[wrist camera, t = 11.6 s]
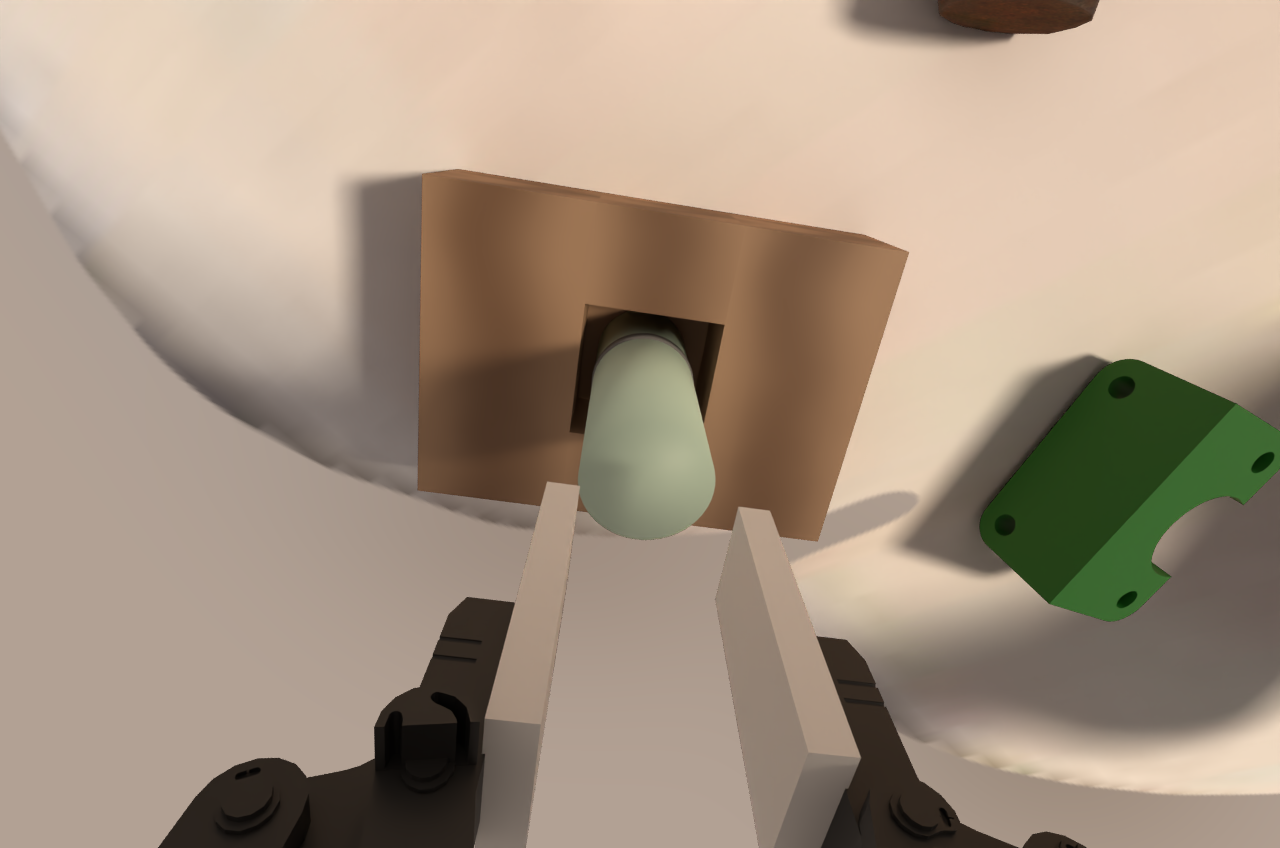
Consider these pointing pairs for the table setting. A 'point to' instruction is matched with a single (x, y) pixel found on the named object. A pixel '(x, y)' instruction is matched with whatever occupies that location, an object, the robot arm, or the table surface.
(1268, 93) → the table surface
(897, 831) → the robot arm
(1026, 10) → the bolt
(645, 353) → the peg
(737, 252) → the board
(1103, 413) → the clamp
